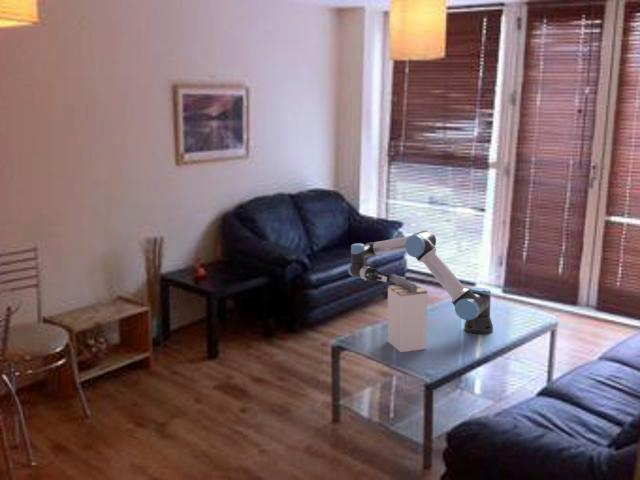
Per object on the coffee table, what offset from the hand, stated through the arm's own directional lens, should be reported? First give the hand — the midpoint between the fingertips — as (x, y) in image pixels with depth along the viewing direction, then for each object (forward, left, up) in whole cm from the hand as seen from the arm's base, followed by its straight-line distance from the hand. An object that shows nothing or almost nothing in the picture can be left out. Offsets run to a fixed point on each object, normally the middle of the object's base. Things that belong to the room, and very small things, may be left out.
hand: (395, 279), depth 342 cm
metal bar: (-5, +17, +2) cm, 18 cm away
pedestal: (-8, +21, -28) cm, 36 cm away
